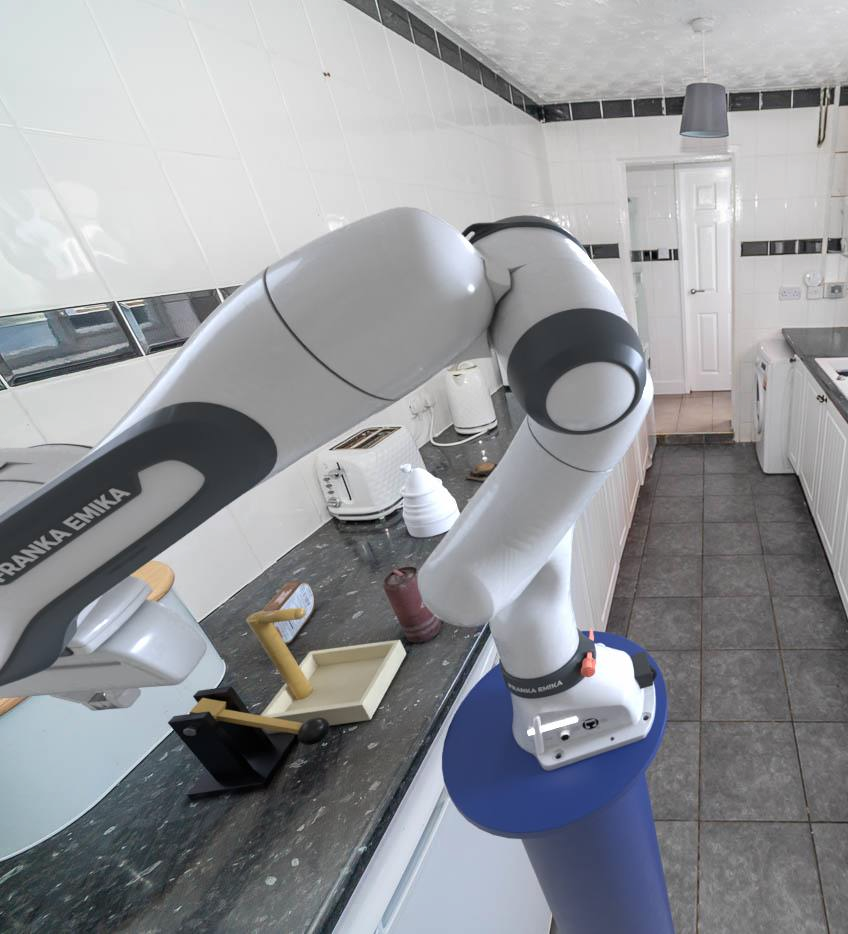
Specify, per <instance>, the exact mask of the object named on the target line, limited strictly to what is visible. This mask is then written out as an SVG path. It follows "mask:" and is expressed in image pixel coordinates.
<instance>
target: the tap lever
mask: <svg viewBox="0 0 848 934" xmlns="http://www.w3.org/2000/svg"><path fill="white" fill-rule="evenodd" d="M225 706H226V702H223V701H217V700H212V699H206V698H202V699H201V700H200V701H199V702H196V704H195V705H194V706H193V708H191V709H190V711H189V713H188V714H193V713H200V712H207V711H209V712H210V713H211V714H212V716H213V717H214V718H215V720H216V721H224V722H230V723H236V724H241V725H247V726H253V727H259V728H262V729H263V728H265V729H271V730H276V731H282V733H287V732H288V733H294V734H298V740H299V741H298V742H300V744H302V745H305V746H313V745H316V744H319V743H320V742H322V741H323V740H324V739H325V738H326V737H327V735H328V733H329V731H330V726H329V723H328V721H327V720H326V719H324V718H322V717H314V718H311V719H309V720H307V721H306V722H304V723H299V722H293V721H288V720H282V719H276V718H271V717H265V716H260V715H261V714H259V715H258V714H254V713H251V714H248V713H243V712H237V711H231V710H226V709H225Z"/></svg>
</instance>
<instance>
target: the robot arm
mask: <svg viewBox="0 0 848 934" xmlns="http://www.w3.org/2000/svg"><path fill="white" fill-rule="evenodd" d="M472 232H473V233H474V234H473V235H471V236H470V238H469V239H468V238H467V236H468V235H470V233H472ZM492 350H493V351H495V352H496V354H497V357H498V359H499V361H500V364H501V365H502V367H503V370H504V371H505V373H506V379H507V383H508V386H509V389H510V391H511V393H512V394H513V396H514V398H515V400H516V402H518V404H519V405H520V407H521V408H522V410H523V411H524V412H525V413H526V415H525V417H524V419H523V421H522V422H521V425H520V427H519V428H518V430H517V432H516V434H515V435H514V437H513V439H512V441H511V442H510V443H509V445H508V448H507V449H506V451H505V453H504V454H503V456H502V458H501V459H500V461H499V462H498V463H497V464H498V465H497V466H496V468H495V469H494V470H493V472H492V473H491V474H490V475H489V477H488V478H487V479H486V480H485V481H483V483H482V484H481V485H480V487H479V488H478V489H477V491H476V492H475V493H474V495H473V496H472V497H471V499H470V500H469V501H468V503H467V504H466V505H465V507H464V508H463V509H462V511H461V512H460V515H459V517H458V518H457V519H456V521H455V522H454V524H453V525H452V527H451V528H450V529H449V530H448V531H446V534H445V535H444V536H443V537H442V538H441V540H440V542H439V543H438V544H437V545H436V547H435V548H434V549H433V551H432V552H431V553H430V555H429V556H428V557H427V558H426V560H425V562H424V563H423V564H422V566H421V567H420V568H419V569H418V570H419V572H418V576H417V584H418V590H419V593H420V596H421V599H422V601H423V602H424V604H425V605H426V607H427V608H428V609H429V611H430V612H431V613H432V614H434V615H435V616H436V617H437V618H439V619H440V621H443V622H444V623H447V624H449V625H452V626H456V627H462V628H476V627H481V626H483V625H486V624H488V625H489V630H490V633H491V635H492V639H493V642H494V644H495V647H496V650H497V654H498V656H499V659H498V664H499V665H500V670H501V674H502V677H503V680H504V682H505V685H506V688H507V689H508V690H509V691H510V693H511V698H512V705H513V725H512V728H513V735H514V738H515V740H516V742H517V743H518V744H519V746H520V747H521V748H523V749H524V750H525V751H527V752H529V753H531V754H533V755H534V756H535V757H536V758H537V760H538V761H539V763H540V765H541V766H542V768H543V769H545V770H547V771H551V770H554V769H557V768H560V767H563V766H566V765H569V764H572V763H575V762H578V761H581V760H584V759H587V758H590V757H592V756H595V755H598V754H601V753H604V752H607V751H610V750H613V749H616V748H619V747H622V746H625V745H628V744H631V743H634V742H637V741H640V740H642V739H644V738H645V737H646V736H647V734H648V732H649V731H650V729H651V726H652V724H653V720H654V716H655V709H656V694H655V686H654V682H653V681H654V680H655V678H656V676H657V670H656V669H655V668H654V667H653V666H651V665H649V661H648V657H647V653H648V652H647V650H645V651H644V652H641V653H637V654H634V655H631V657H630V656H629V655H628V654H627V653H626V652H624V651H620V650H617V649H613V648H609V647H606V646H605V645H604V644H602V643H596V644H595V643H594V635H593V631H594V630H593V627H590V629H589V631H590V636H589V638H588V637H586V636H585V635H584V634H583V633H582V632H581V631H582V630H580V629H579V628H578V627H577V622H576V618H575V613H574V608H573V603H572V596H571V595H572V594H571V575H572V574H571V571H572V552H573V551H572V550H573V538H574V531H575V525H576V522H577V520H578V519H579V518H580V516H581V515H582V514H583V513H584V511H585V510H586V509H587V508H588V506H589V505H590V503H591V502H592V500H594V498H595V496H596V495H597V493H598V492H599V491H600V489H601V488H602V487H603V485H604V484H605V483H606V481H607V480H608V479H609V477H610V476H611V474H612V473H613V472H614V470H615V469H616V468H617V466H618V465H619V464H620V462H621V461H622V459H623V458H624V456H625V455H626V454H627V452H628V450H629V449H630V447H631V446H632V444H633V442H634V441H635V439H636V437H637V435H638V433H639V431H640V429H641V427H642V426H643V424H644V421H645V419H646V417H647V415H648V413H649V410H650V408H651V405H652V403H653V399H654V395H655V394H654V393H655V392H654V391H655V389H654V383H653V379H652V375H651V374H650V371H649V370H648V368H647V363H646V358H645V352H644V349H643V346H642V343H641V339H640V337H639V335H638V333H637V332H636V330H635V328H634V327H633V326H632V325H631V324H630V321H629V319H628V316H627V314H626V312H625V310H624V307H623V305H622V303H621V301H620V299H619V297H618V295H617V293H616V291H615V289H614V288H613V286H612V284H611V283H610V282H609V281H608V279H607V278H606V277H605V276H604V275H603V274H602V273H601V271H600V270H599V268H598V267H597V266H596V264H595V263H594V262H593V261H592V260H591V258H590V256H589V254H588V252H587V250H586V248H585V247H584V246H583V245H582V243H581V242H580V241H579V240H578V239H577V238H576V237H575V236H574V235H573V234H572V233H571V232H570V231H568V230H567V229H566V228H565V227H564V226H562V225H560V224H558V223H557V222H555V221H553V220H551V219H548V218H546V217H542V216H537V215H529V214H528V215H524V214H523V215H514V216H509V217H505V218H502V219H501V218H500V219H498V220H496V221H493V222H492V221H491V222H475V223H472V224H470V225H469V226H467V227H466V228H465V229H464V230H463V231H462V232H460V231H459V230H458V229H457V228H456V227H454V226H453V225H451V223H448V222H447V221H445V219H442V218H441V217H439V216H437V215H435V214H433V213H432V212H429V211H426V210H424V209H421V208H418V207H417V208H416V207H411V206H410V207H409V206H396V207H393V208H388V209H385V210H382V211H379V212H376V213H373V214H370V215H367V216H365V217H362V218H360V219H359V218H358V219H356V220H354V221H351V222H350V223H347V224H344V225H342V226H340V227H337V228H336V229H333V230H331V231H329V232H327V233H325V234H322V235H319V236H318V237H316V238H314V239H312V240H311V241H309V242H307V243H305V244H303V245H301V246H299V247H297V248H295V249H294V250H292V251H291V252H289V253H288V254H286V255H285V256H282V257H281V258H280V259H279V258H278V260H276V261H274V262H273V263H271V264H270V265H268V266H267V267H265V268H263V269H262V270H260V271H259V272H257V273H256V274H254V275H253V276H251V278H249V279H248V280H246V282H244V283H243V284H242V285H240V286H239V287H238V288H237V289H235V290H234V291H233V292H232V293H231V294H230V295H229V296H228V297H226V298H225V299H224V300H223V301H222V302H221V303H219V305H218V306H217V307H216V308H215V309H214V310H213V311H212V312H211V313H209V315H208V316H207V317H205V319H204V320H203V321H202V322H201V324H199V326H198V327H197V328H196V329H195V330H194V331H193V333H192V334H191V335H190V336H189V338H188V339H187V340H186V341H185V342H184V344H182V346H181V347H180V348H179V349H178V350H177V352H176V353H175V354H174V355H173V356H172V358H171V359H170V360H169V362H167V364H166V365H165V366H164V367H163V368H162V370H161V371H160V372H159V373H158V374H157V376H156V377H155V378H154V380H153V381H152V382H151V383H150V384H149V385H148V387H147V388H146V389H145V390H144V391H143V393H142V394H141V395H140V396H139V397H138V398H137V400H135V402H134V404H133V405H132V406H131V407H130V408H129V409H128V410H127V412H125V414H124V415H123V416H122V417H121V418H120V420H119V421H117V423H116V424H115V425H114V426H113V427H112V428H110V430H109V431H108V432H107V433H106V434H105V435H104V436H103V437H102V438H101V439H100V440H99V441H98V442H97V443H96V444H95V445H94V446H92V445H85V444H76V443H43V444H38V445H37V444H36V445H33V446H28V447H0V700H1V699H13V698H15V699H16V698H26V697H27V698H28V697H39V696H41V697H42V696H50V697H52V698H55V699H58V700H64V701H68V702H72V703H76V704H81V705H83V706H84V707H85V708H87V709H89V711H92V712H96V711H106V710H119V709H128V708H131V707H132V706H133V705H134V704H135V702H136V701H137V700H138V699H139V698H140V696H141V695H142V690H141V689H142V688H143V689H145V688H156V687H170V686H177V685H180V684H182V683H183V682H184V681H185V680H186V679H187V678H188V677H189V676H190V675H191V674H192V673H193V672H194V670H195V669H196V667H197V666H199V663H200V662H201V661H202V660H203V658H204V656H205V654H206V652H207V649H208V648H207V647H208V646H207V642H206V641H205V639H204V638H203V636H201V635H200V634H199V633H198V632H197V630H196V629H194V628H193V626H191V624H189V623H188V622H187V620H185V619H184V618H183V617H181V616H180V615H179V614H178V613H177V612H176V611H174V610H173V609H172V608H170V607H169V606H168V605H166V604H164V603H162V602H158V601H155V600H152V599H149V598H148V597H150V595H151V594H152V593H153V587H152V586H151V585H150V584H149V583H148V582H147V581H146V580H145V579H142V578H141V577H138V576H133V575H132V574H134V573H136V572H137V571H138V570H140V569H141V568H143V567H144V566H145V565H147V564H148V563H150V562H151V561H152V560H154V559H155V558H156V557H158V556H159V555H160V554H161V555H162V553H164V552H165V551H167V550H168V549H169V548H171V547H172V546H173V545H175V544H176V543H177V542H179V541H180V540H182V539H183V538H184V537H186V536H187V535H188V534H190V533H192V532H193V531H194V530H196V529H197V528H198V527H200V526H201V525H203V524H204V523H205V522H206V521H208V520H209V519H211V518H212V517H213V516H215V515H216V514H217V513H219V512H220V511H222V510H223V509H224V508H226V507H228V506H229V505H231V504H232V503H233V502H235V501H236V500H237V499H239V498H240V497H242V496H243V495H245V494H247V493H248V492H250V491H251V490H253V489H255V488H257V487H258V486H260V485H262V484H264V483H265V482H267V481H268V480H270V479H271V478H273V477H275V476H276V475H278V474H280V473H281V472H283V471H285V469H288V468H289V467H290V466H292V465H293V464H295V463H296V462H298V461H299V460H301V459H303V458H304V457H306V456H308V455H310V454H311V453H313V452H314V451H316V450H318V449H320V448H321V447H323V446H325V445H326V444H328V443H329V442H332V441H333V440H335V439H337V438H339V437H340V436H342V435H344V434H345V433H347V432H349V431H351V430H352V429H354V428H355V427H357V426H359V425H360V424H362V423H364V422H366V421H367V420H369V419H371V418H372V417H374V416H376V415H378V414H379V413H381V412H382V411H384V410H386V409H387V408H389V407H391V406H392V405H394V404H395V403H397V402H398V401H400V400H402V399H403V398H404V397H406V396H408V395H409V394H411V393H412V392H414V391H415V390H416V389H418V388H419V387H422V386H423V385H424V384H426V383H427V382H428V381H429V380H431V379H432V378H433V377H435V376H436V375H437V374H439V373H441V372H442V371H443V370H444V369H446V368H449V367H451V366H453V365H456V364H460V363H464V362H466V361H471V360H472V361H473V360H477V359H489V358H490V359H491V358H493V353H492ZM646 652H647V653H646ZM631 658H632V659H631ZM651 671H652V672H653V675H652V672H651ZM645 719H648V720H646V721H644V720H645ZM559 756H561V758H559V759H557V758H558V757H559Z"/></svg>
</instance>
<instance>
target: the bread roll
mask: <svg viewBox="0 0 848 934" xmlns="http://www.w3.org/2000/svg"><path fill="white" fill-rule="evenodd" d="M498 464H499V463H493V462H491V461H485V462H481V463H479V464H478V465H476V466H475V467H474V468H473V470H471V471H470V472H469V475H468V476H467V477H466V478H467V479H469V480H473V481H474V480H475V481H479V482H485V480H486V479H487V478H488V477H489V475H490V474H491V473H492V472H493V470H494V469H495V468H496V466H497V465H498Z"/></svg>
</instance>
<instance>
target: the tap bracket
mask: <svg viewBox="0 0 848 934" xmlns="http://www.w3.org/2000/svg"><path fill="white" fill-rule="evenodd" d="M192 697H193V699H194V700H195V701H196V703H198V702H199V701H200V700H201V699H202V698H206V699H212V700H217V701H223V702H226V706H225V709H226V710H231V711H237V712H243V713H248V714H252V713H251V712H250V710H249V709H248V707H247V706H246V704H245V703H244V701H243V700H242V699H241V697H240V696H239V694H238V693H237V692H236V690H235V689H234V688H233V686H232V685H229V686H222V687H215V688H214V687H213V688H206V689H199V690H197V691H196V692H195V693H194V694H193V695H192ZM167 724H168V725H169V726H170V728H171V729H172V730H173V731H174V732H175V734H176V735H177V736H178V737H179V738H180V739H181V741H182V742H183V743H184V745H186V747H187V748H188V749H189V750H190V751H191V752H192V754H193V755H194V756H195V757H196V759H197V760H198V761H199V762H200V763H201V764H202V766H203V767H204V769H205V770H204V771H203V773H202V774H201V776H200V777H199V778H198V779H197V780H196V782H195V783H194V784H193V786H192V787H191V788H190V789H189V791H188V792H187V793H186V794H185V795H186V797H187V798H188V799H189V800H190V801H195V800H200V799H208V798H214V797H221V796H227V795H228V796H229V795H234V794H241V793H247V792H254V791H261V790H266V789H268V788H269V786H270V784H271V783H272V782H273V780H274V778H275V777H276V775H277V774H278V772H279V770H281V768H282V766H283V765H284V763H285V762H286V760H287V758H288V757H289V756H290V754H291V753H292V751H293V749H294V748H295V746H296V745H297V744H298V742H300V741H299V740H298V734H294V733H288V732H282V733H275V734H267V733H266V731H265V730H264V729H263V728H259V727H253V726H247V725H241V724H236V723H230V722H224V721H216V720H215V718H214V717H213V716H212V714H211V713H210V712H209V711H207V712H200V713H193V714H189V713H186V714H178V715H173V716H172V717H171V718H170V719H169V721H168V722H167Z"/></svg>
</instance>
